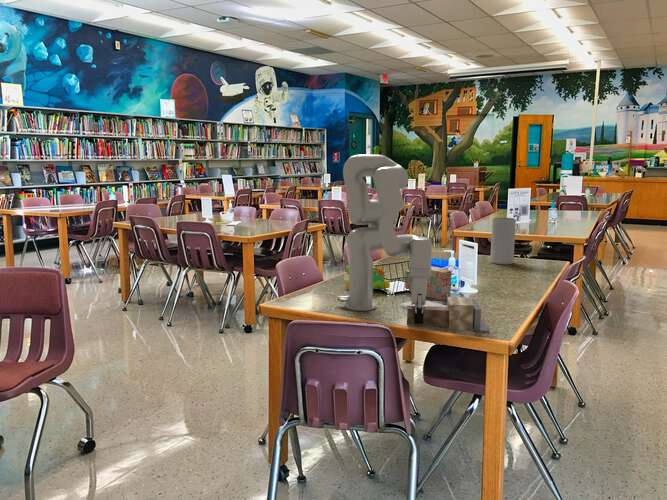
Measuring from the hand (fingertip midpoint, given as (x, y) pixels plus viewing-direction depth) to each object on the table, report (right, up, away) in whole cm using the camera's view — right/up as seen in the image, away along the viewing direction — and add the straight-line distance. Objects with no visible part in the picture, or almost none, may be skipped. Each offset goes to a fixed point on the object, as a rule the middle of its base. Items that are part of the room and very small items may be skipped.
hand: (418, 321), depth 210 cm
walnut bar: (+5, -1, 0) cm, 5 cm away
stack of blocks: (+10, +6, +44) cm, 46 cm away
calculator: (+7, +2, +20) cm, 22 cm away
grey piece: (+21, -2, -2) cm, 21 cm away
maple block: (+14, -1, -1) cm, 15 cm away
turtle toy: (-17, +8, +55) cm, 58 cm away
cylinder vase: (+64, +18, +119) cm, 137 cm away
